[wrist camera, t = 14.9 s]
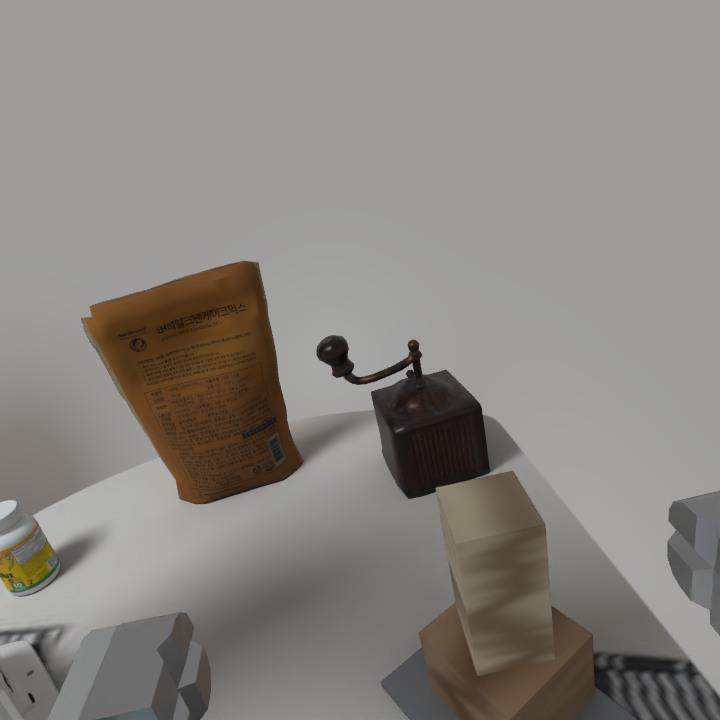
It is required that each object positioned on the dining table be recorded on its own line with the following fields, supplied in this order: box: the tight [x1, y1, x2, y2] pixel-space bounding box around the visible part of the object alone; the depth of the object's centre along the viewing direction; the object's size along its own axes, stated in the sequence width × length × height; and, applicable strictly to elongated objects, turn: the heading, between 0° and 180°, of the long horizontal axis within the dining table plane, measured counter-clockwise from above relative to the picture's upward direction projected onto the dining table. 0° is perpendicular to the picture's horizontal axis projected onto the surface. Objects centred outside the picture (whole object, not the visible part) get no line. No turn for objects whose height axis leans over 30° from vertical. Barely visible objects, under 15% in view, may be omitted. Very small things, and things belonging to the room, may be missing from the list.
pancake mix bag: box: [81, 261, 304, 504], centre depth 63 cm, size 7×19×28 cm, turn 103°
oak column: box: [436, 471, 555, 676], centre depth 34 cm, size 5×5×11 cm
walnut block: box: [419, 602, 595, 720], centre depth 37 cm, size 8×8×6 cm
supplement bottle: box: [0, 500, 60, 596], centre depth 58 cm, size 5×5×10 cm
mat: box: [381, 648, 637, 720], centre depth 37 cm, size 16×11×1 cm
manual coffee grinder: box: [317, 335, 490, 499], centre depth 61 cm, size 16×11×18 cm
